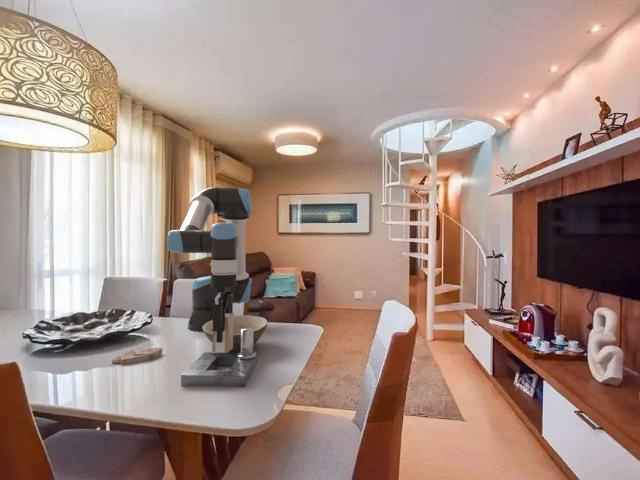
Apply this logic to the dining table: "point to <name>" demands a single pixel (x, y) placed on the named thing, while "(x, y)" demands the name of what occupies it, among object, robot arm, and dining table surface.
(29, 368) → the dining table surface
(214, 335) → the box
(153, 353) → the stone
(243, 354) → the round door knob
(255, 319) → the bowl
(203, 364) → the square recessed tray
